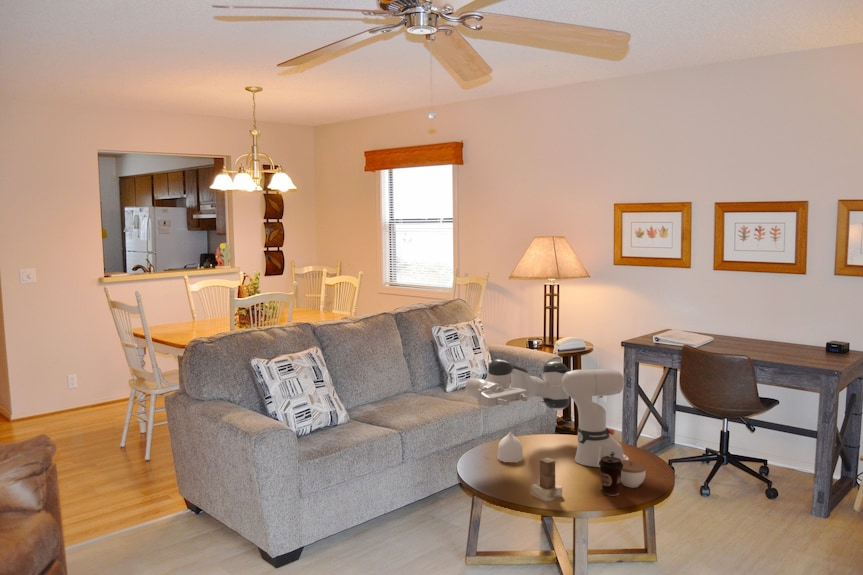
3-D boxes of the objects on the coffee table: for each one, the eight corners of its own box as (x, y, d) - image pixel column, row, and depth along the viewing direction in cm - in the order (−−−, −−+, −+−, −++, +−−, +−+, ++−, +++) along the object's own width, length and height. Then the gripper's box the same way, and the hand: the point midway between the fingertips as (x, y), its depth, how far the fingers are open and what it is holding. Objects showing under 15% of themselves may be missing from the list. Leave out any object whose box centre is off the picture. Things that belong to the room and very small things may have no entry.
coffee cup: (607, 499, 247) (608, 464, 246) (593, 490, 255) (594, 457, 253) (627, 495, 251) (627, 460, 249) (612, 487, 258) (613, 453, 257)
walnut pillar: (547, 483, 253) (547, 457, 252) (555, 486, 250) (555, 460, 248) (539, 485, 251) (539, 459, 250) (547, 489, 248) (547, 463, 246)
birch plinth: (547, 490, 257) (547, 480, 256) (562, 497, 250) (562, 487, 250) (531, 495, 252) (531, 484, 252) (545, 502, 246) (546, 492, 245)
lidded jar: (642, 492, 253) (642, 467, 252) (613, 486, 258) (613, 462, 257) (648, 482, 262) (648, 458, 262) (620, 477, 268) (620, 454, 267)
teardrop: (519, 452, 296) (520, 425, 295) (525, 462, 285) (526, 434, 284) (494, 453, 295) (495, 426, 294) (499, 463, 284) (500, 435, 283)
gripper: (513, 397, 282) (536, 404, 270) (474, 405, 270) (497, 413, 259) (513, 382, 281) (536, 388, 270) (474, 390, 269) (497, 397, 258)
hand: (517, 401), depth 264 cm, fingers open, 8 cm apart
